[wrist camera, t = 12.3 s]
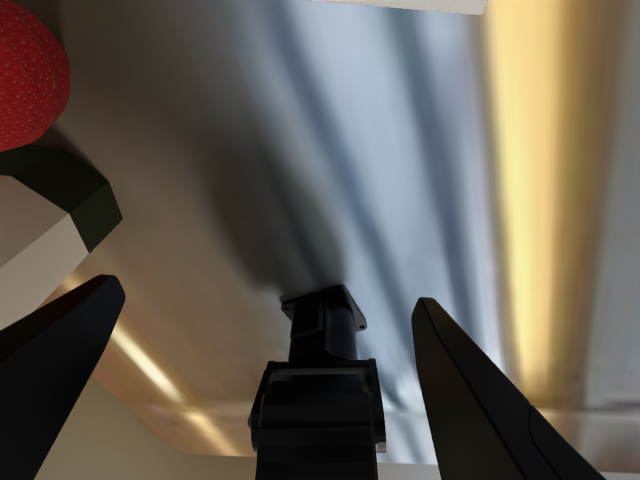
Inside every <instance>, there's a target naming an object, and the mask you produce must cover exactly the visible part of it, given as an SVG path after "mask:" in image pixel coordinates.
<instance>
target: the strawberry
mask: <svg viewBox="0 0 640 480" xmlns="http://www.w3.org/2000/svg"><path fill="white" fill-rule="evenodd" d="M69 94H70V67H69V62H68V58H67V56H66V53H65V51H64V49H63V48H62V46H61V44H60V43H59V41H58V40H57V39H56V38H55V36H54V35H53V34H52V33H51V32H50V31H49V30H48V29H47V28H46V27H45V26H44V25H43V24H42V23H41V22H40V21H39V20H38V19H37V18H36V17H35V16H34V15H33V14H32V13H31V12H29V11H28V10H26V9H25V8H23V7H22V6H20V5H19V4H17V3H16V2H13V1H11V0H0V152H1V151H5V150H9V149H13V148H17V147H21V146H23V145H26V144H29V143H32V142H33V141H35V140H36V139H38V138H39V137H41V136H42V135H43V134H44V132H45V131H46V130H47V129H48V128H49V127H50V126H51V125H52V124H53V122H54V121H55V120H56V119H57V118H58V117H59V116H60V114H61V113H62V112H63V111H64V109H65V107H66V105H67V102H68V99H69Z"/></svg>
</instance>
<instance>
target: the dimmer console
mask: <svg viewBox="0 0 640 480" xmlns="http://www.w3.org/2000/svg"><path fill="white" fill-rule="evenodd" d="M311 1H322V2H334V3H345V4H357V5H368V6H379V7H391V8H402V9H414V10H425V11H437V12H448V13H460V14H474V15H482V14H483V11H484V7H485V4H486V1H487V0H311Z"/></svg>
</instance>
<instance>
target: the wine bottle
mask: <svg viewBox="0 0 640 480" xmlns="http://www.w3.org/2000/svg"><path fill="white" fill-rule="evenodd" d="M122 219H123V218H122V215H121V213H120V210H119V207H118V205H117V202H116V199H115V197H114V194H113V191H112V189H111V186H110V183H109V182H108V181H107V180H106V179H104V178H103V177H101V176H100V175H99V174H97V173H96V172H95V171H93V170H92V169H91V168H89V167H88V166H87V165H85V164H84V163H82V162H81V161H80V160H78V159H77V158H76V157H74V156H73V155H72V154H70V153H69V152H67V151H66V150H65V149H63V148H54V147H44V146H33V145H23V146H21V147H17V148H13V149H9V150H5V151H1V152H0V330H2V329H4V328H5V327H7V326H9V325H11V324H13V323H14V322H16V321H18V320H20V319H21V318H23V317H25V316H27V315H29V314H30V313H32V312H33V311H34V310H35V309H36V308H37V307H38V306H39V305H40V304H41V303H42V302H43V301H44V300H45V299H46V298H47V297H48V296H49V295H50V294H51V293H52V292H53V291H54V290H55V288H56V287H57V286H58V285H59V284H60V283H61V282H62V281H63V280H64V279H65V278H66V277H67V276H68V275H69V274H70V273H71V272H72V271H73V270H74V269H75V268H76V267H77V266H78V265H79V264H80V263H81V262H82V261H83V260H84V259H85V258H86V257H87V256H88V255H89V254H90V253H91V252H92V251H93V250H94V248H95V247H96V246H97V245H98V244H99V243H100V242H101V241H102V240H103V239H104V238H105V237H106V236H107V235H108V234H109V233H110V232H111V231H112V230H113V229H114V228H115V227H116V226H117V225H118V224H119V223H120V221H121V220H122Z"/></svg>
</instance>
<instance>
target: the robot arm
mask: <svg viewBox="0 0 640 480" xmlns="http://www.w3.org/2000/svg"><path fill="white" fill-rule="evenodd" d="M339 290H340V291H339ZM124 302H125V292H124V290H123V288H122V286H121V284H120V282H119V280H118V278H117V277H116V276H114V275H104V274H102V275H98V276H96V277H94V278H92V279H91V280H89V281H87V282H85V283H83V284H82V285H80V286H78V287H76V288H75V289H73V290H71V291H69V292H68V293H66V294H64V295H62V296H60V297H59V298H57V299H55V300H53V301H52V302H50V303H48V304H46V305H44V306H43V307H41V308H39V309H37V310H36V311H34V312H32V313H30V314H29V315H27V316H25V317H23V318H21V319H20V320H18V321H16V322H14V323H13V324H11V325H9V326H7V327H5V328H4V329H2V330H0V480H34V478H35V476H36V475H37V473H38V471H39V469H40V467H41V466H42V464H43V461H44V460H45V458H46V456H47V454H48V453H49V451H50V449H51V447H52V445H53V444H54V442H55V440H56V438H57V436H58V434H59V432H60V430H61V429H62V427H63V425H64V423H65V421H66V420H67V418H68V416H69V414H70V412H71V410H72V409H73V407H74V405H75V403H76V401H77V399H78V398H79V396H80V394H81V392H82V390H83V388H84V387H85V385H86V383H87V381H88V379H89V377H90V376H91V374H92V372H93V370H94V368H95V366H96V365H97V363H98V361H99V359H100V357H101V355H102V353H103V351H104V349H105V347H106V345H107V343H108V341H109V338H110V336H111V334H112V331H113V329H114V326H115V324H116V321H117V319H118V317H119V314H120V312H121V309H122V307H123V305H124ZM281 310H282V311H283V312H284V313H285V314H286V316H287V317H288V318H289V319H290V320H291V322H292V326H291V334H290V338H291V342H290V350H289V358H288V360H289V362H276V361H268V364H267V367H266V370H265V371H264V374H263V377H262V380H261V383H260V386H259V389H258V392H257V395H256V398H255V401H254V404H253V407H252V410H251V414H250V416H249V418H248V426H249V428H250V429H251V440H252V447H253V450H254V451H255V452H257V467H256V477H255V480H378V473H377V458H376V453H386V432H385V420H384V411H383V403H382V397H381V391H380V385H379V379H378V373H377V367H376V360H375V358H370V359H368V360H358V357H357V343H356V332H358V331H362V330H365V329H366V328H367V323H366V321H365V319H364V318H363V316H362V315H361V313H360V311H359V310H358V308H357V307H356V305H355V303H354V302H353V300H352V299H351V297H350V295H349V294H348V292H347V291H346V289H345V287H344V286H342V285H337V286H334V287H331V288H328V289H325V290H321V291H318V292H315V293H312V294H309V295H305V296H302V297H299V298H296V299H293V300H289V301H286V302H283V303H282V305H281ZM411 322H412V331H413V340H414V349H415V359H416V367H417V373H418V378H419V382H420V387H421V391H422V396H423V400H424V404H425V409H426V413H427V418H428V422H429V427H430V431H431V435H432V440H433V444H434V449H435V453H436V458H437V462H438V466H439V471H440V475H441V480H606V479H605V478H604V477H603V476H602V475H601V474H600V473H599V472H598V471H597V470H596V469H595V468H594V467H593V466H592V465H591V464H590V463H589V462H588V461H587V460H586V459H585V458H584V457H583V456H582V455H581V454H580V453H578V452H577V451H576V450H575V449H574V448H573V447H572V446H571V445H570V444H569V443H568V442H567V441H566V440H565V439H564V438H563V437H562V436H561V434H560V433H559V432H558V431H557V430H556V429H555V428H554V427H553V426H552V425H551V424H550V423H549V422H548V421H547V420H546V419H545V418H544V417H543V416H542V414H541V413H540V412H539V411H538V410H537V409H536V408H535V407H534V406H533V405H530V402H529V401H528V400H527V398H526V397H525V396H524V395H523V394H522V393H521V392H520V391H519V390H518V389H517V388H516V387H515V385H514V384H513V383H512V382H511V381H510V380H509V379H508V378H507V377H506V376H505V375H504V374H503V372H502V371H501V370H500V369H499V368H498V367H497V366H496V365H495V364H494V363H493V362H492V361H491V359H490V358H489V357H488V356H487V355H486V354H485V353H484V352H483V351H482V350H481V349H480V348H479V347H478V345H477V344H476V343H475V342H474V341H473V340H472V339H471V338H470V337H469V336H468V335H467V334H466V332H465V331H464V330H463V329H462V328H461V327H460V326H459V325H458V324H457V323H456V322H455V321H454V319H453V318H452V317H451V316H450V315H449V314H448V313H447V312H446V311H445V310H444V309H443V308H442V306H441V305H440V304H439V303H438V302H437V301H436V300H435V299H433V298H428V297H420V298H419V299H418V301H417V303H416V306H415V308H414V311H413V313H412V318H411Z"/></svg>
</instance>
